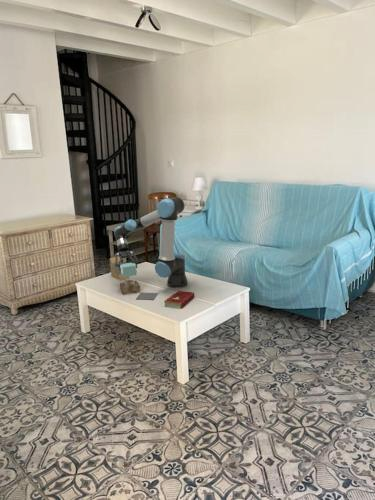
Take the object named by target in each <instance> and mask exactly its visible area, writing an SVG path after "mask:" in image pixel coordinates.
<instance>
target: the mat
mask: <svg viewBox="0 0 375 500" xmlns="http://www.w3.org/2000/svg"><path fill="white" fill-rule="evenodd" d="M158 294H159V293H158V292H139V294H138V295H137V297H136V298H135V300H138V301H141V300H142V301H143V300H144V301H154V300H155V299H156V297H157V295H158Z"/></svg>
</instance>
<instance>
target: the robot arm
mask: <svg viewBox="0 0 375 500" xmlns="http://www.w3.org/2000/svg"><path fill="white" fill-rule="evenodd" d="M185 206H186V205H185V202H184V200H183V199H182V198H181V197H178V196H173V197H169V198H164V199H162V200H160V201H159V202H158V204H157V206H156V210H153V211H151V212H150V213H148V214H145V215H143V216H142V217H139V218H137V219H128V220H127V221H125V222H124V223H123V224H122V225H119V226H118V225H117V226H115V227H114V230H113V232H114V237H115V241H116V244H117V250H118V251H117V252H115V253H114V257H116V262H115V266H116V267H118V268H119V271H121V274H122V275H123V270H122V266H121V265H120V264H121V262H123V259H125V258H126V259H127V258H128V259H129V260H130V261H131V263H134V264H135V265H136V274H137V273H138V270H137V269H138V264H139V263H140V262H139V261H140V260H139V259H138V256H137V255H136V253H135V251H134V250H132V251H131V250H130V248H129V243H128V241H127V240H128V239H127V236H128V235H130V233H133V232H136V231H139V230H142V229H146V227H148V226H150V225H153V224H154V223H156V222H158V221H161V237H160V241H161V242H160V255H159V256H158V258H157V259H158V260H157V262H156V263H155V265H154V271H155V273H156V274H157V276H158V277H160V278H163V279H164V278H167V280H166V285H167V286H168V287H170V288H184V287H187V286H189V285H188V284H189V281H188V278H187V275H186V259H185V254H183V253H179V252H178V253H176V252H174V245H175V229H176V227H175V226H176V221H178V215H179V214H181V213H182V212H183V211H184V209H185ZM118 256H119V258H120V261H119V264H117V260H118Z"/></svg>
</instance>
